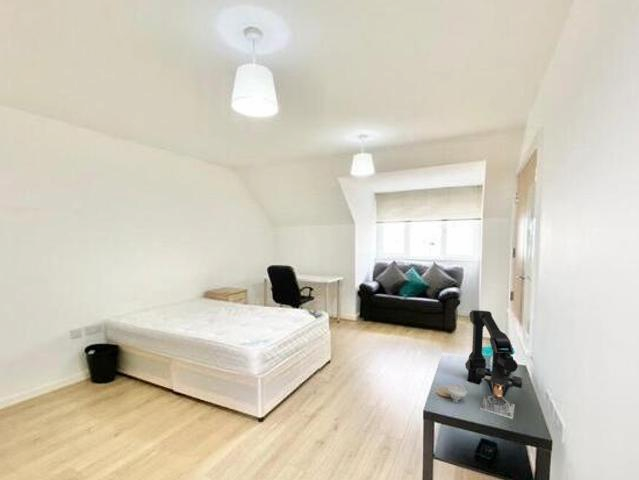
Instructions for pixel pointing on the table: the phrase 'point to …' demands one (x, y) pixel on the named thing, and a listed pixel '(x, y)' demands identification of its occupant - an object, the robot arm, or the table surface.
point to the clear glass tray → (498, 406)
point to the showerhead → (456, 391)
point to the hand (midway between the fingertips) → (497, 395)
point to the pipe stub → (498, 391)
